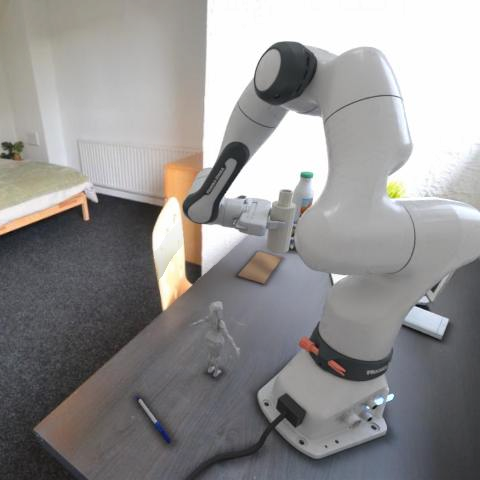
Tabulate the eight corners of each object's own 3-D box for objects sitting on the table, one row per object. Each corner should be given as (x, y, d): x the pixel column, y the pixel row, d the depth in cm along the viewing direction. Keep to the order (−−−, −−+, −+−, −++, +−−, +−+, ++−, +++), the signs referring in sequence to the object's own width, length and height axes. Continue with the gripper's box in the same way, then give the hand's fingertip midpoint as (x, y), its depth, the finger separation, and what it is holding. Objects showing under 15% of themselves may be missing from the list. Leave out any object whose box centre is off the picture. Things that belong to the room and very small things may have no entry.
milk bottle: (290, 223, 134) (298, 175, 125) (287, 216, 141) (294, 169, 132) (310, 224, 133) (320, 175, 124) (306, 217, 140) (315, 170, 131)
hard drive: (380, 310, 83) (443, 335, 75) (390, 296, 88) (449, 317, 80) (379, 315, 84) (440, 340, 76) (388, 301, 89) (447, 323, 81)
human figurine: (242, 385, 66) (251, 313, 58) (231, 397, 63) (239, 324, 55) (195, 353, 73) (198, 286, 65) (184, 363, 71) (185, 294, 63)
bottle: (277, 255, 97) (286, 196, 88) (261, 246, 102) (269, 189, 93) (293, 250, 99) (304, 192, 91) (277, 241, 104) (286, 186, 96)
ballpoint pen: (172, 441, 56) (172, 437, 56) (168, 444, 56) (168, 440, 55) (138, 397, 64) (138, 394, 64) (135, 400, 64) (134, 397, 63)
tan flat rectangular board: (263, 284, 97) (263, 283, 97) (237, 276, 101) (237, 275, 101) (281, 258, 110) (281, 257, 110) (258, 252, 114) (258, 251, 114)
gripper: (231, 217, 90) (285, 223, 86) (242, 193, 107) (287, 197, 103) (229, 237, 93) (281, 245, 89) (240, 211, 110) (284, 216, 106)
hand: (285, 219), depth 96 cm, fingers closed on bottle, 6 cm apart
